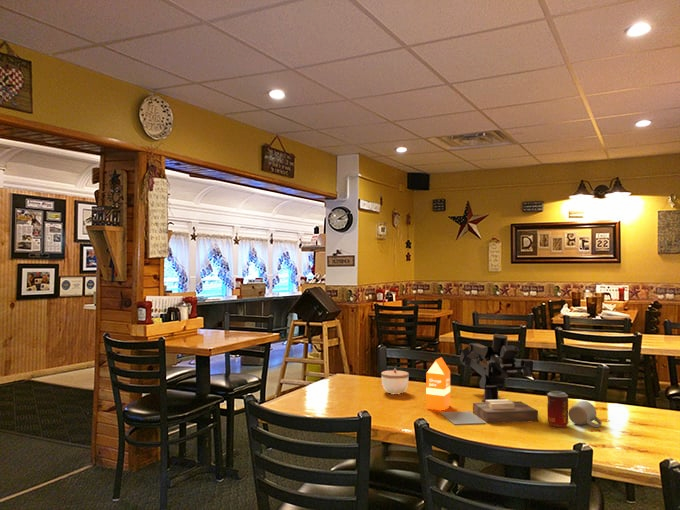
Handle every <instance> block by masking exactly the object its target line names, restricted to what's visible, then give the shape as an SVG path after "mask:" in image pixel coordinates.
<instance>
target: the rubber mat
mask: <svg viewBox="0 0 680 510" xmlns="http://www.w3.org/2000/svg"><path fill="white" fill-rule="evenodd" d="M440 414H441V415H442V417H445V418H446V419H447V420H448V421H449V422H450V423H451V424H452V425H454V426H461V425H465V426H466V425H469V426H470V425H486V424H487V423H486V422H485V421H484V420H482V419H481V418H479V417H478V416H477V415H475V414H474V413H473V412H471V411H469V410H467V411H464V410H463V411H440Z"/></svg>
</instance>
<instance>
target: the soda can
mask: <svg viewBox="0 0 680 510" xmlns="http://www.w3.org/2000/svg"><path fill="white" fill-rule="evenodd" d="M546 394H547V395H546V396H547V404H546V405H547V408H546V410H547V414H546V415H547V422H548V424H549V427H551V428H553V429H559V430H562V429H566V428H567V426H568V424H569V415H568V413H569V395H568V394H567V393H566V392H563V391H559V390H552V391H549V392H548V393H546Z"/></svg>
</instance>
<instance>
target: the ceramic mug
mask: <svg viewBox="0 0 680 510" xmlns="http://www.w3.org/2000/svg"><path fill="white" fill-rule="evenodd" d="M568 419H569V420H570V421H571V423H573V424H575V425H578V426H583V425H586V424H587V425H589V426H591V427H593V428H597V427H598V428H600V427H601V425H602V420H601V419H600V418H599V417H597V410H596V407H595V406H594V405H593V404H592V403H591V402H589V401H586V400H581V401H579V402H576V403H575V404H574V405H572V406H571V407H570V408H568ZM593 421H595V422H593Z"/></svg>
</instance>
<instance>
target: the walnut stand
mask: <svg viewBox="0 0 680 510" xmlns="http://www.w3.org/2000/svg"><path fill="white" fill-rule="evenodd" d="M512 402H513V403H514V408H512V409H491V408H489V407H488V406H486V405H485V402H483V401H482V402H473V403H472V413H473V414H474V415H476V416H477V417H478V418H480V419H481V420H482V421H484V422H485V423H486V424H499V423H503V422H504V423H526V422H527V423H528V421H533V422H539V410H538V409H536V408H535V407H532V406H530V405H528V404H526V403H525V402H523V401H522V400H521V401H512Z"/></svg>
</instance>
